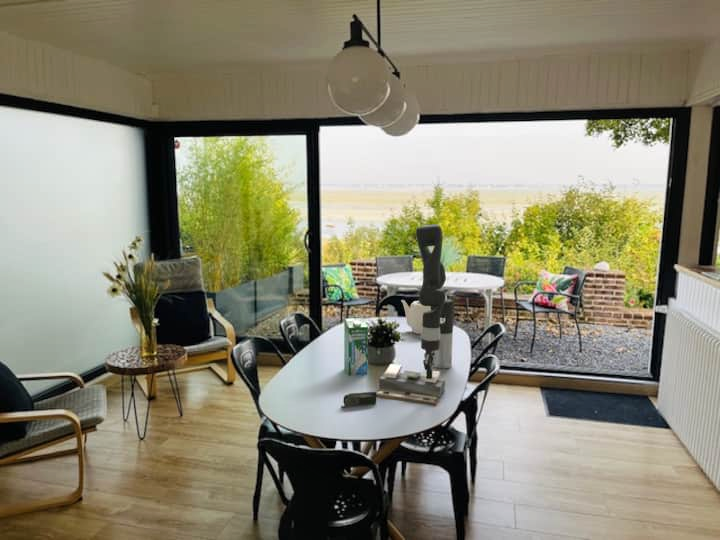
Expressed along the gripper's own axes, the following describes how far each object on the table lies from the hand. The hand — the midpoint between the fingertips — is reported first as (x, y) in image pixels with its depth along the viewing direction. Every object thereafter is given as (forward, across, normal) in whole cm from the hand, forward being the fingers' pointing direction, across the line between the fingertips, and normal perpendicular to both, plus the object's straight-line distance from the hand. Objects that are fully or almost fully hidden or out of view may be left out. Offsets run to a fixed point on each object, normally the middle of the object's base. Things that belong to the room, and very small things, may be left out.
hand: (429, 378), depth 210 cm
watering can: (+7, -97, -29) cm, 101 cm away
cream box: (+2, -5, 0) cm, 5 cm away
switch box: (+8, -2, -8) cm, 12 cm away
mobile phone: (+9, +17, -24) cm, 31 cm away
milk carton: (+8, -18, -39) cm, 44 cm away
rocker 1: (+2, -5, -17) cm, 18 cm away
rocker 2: (+2, -4, -8) cm, 10 cm away
